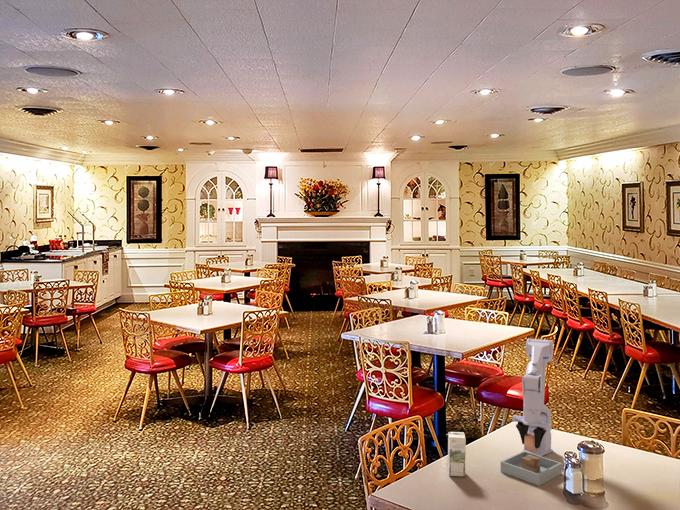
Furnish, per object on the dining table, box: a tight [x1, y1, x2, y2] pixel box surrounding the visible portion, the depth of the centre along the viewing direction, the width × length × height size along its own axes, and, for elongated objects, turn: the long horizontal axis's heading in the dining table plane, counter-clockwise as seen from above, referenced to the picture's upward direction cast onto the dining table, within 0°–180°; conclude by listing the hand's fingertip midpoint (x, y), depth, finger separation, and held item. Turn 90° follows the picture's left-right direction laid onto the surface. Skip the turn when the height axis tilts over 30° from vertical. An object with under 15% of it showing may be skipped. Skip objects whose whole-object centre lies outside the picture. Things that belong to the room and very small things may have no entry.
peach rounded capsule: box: [523, 434, 538, 452], centre depth 215 cm, size 5×5×5 cm
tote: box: [500, 450, 563, 487], centre depth 216 cm, size 15×15×4 cm
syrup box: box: [447, 431, 467, 478], centre depth 215 cm, size 6×6×14 cm
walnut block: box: [522, 455, 540, 473], centre depth 216 cm, size 5×5×5 cm
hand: (531, 445), depth 216 cm, fingers closed on peach rounded capsule, 5 cm apart
